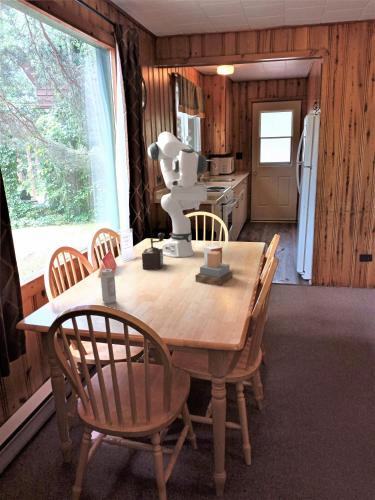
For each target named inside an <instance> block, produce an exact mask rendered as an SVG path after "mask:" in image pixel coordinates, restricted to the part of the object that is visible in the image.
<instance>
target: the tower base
mask: <svg viewBox="0 0 375 500" xmlns="http://www.w3.org/2000/svg"><path fill="white" fill-rule="evenodd" d="M233 275H234V273H233V270H231V271H230V272H229V273H227V274H225V275H224V276H222V277H220V278H215V277H210V276H205V275H200V272H199V273H197V274H195V277H194V278H195V282H197V283H201V284H206V285H212V286H217V287H221V286H223V285H224V284H225V283H227V282H228V281H230V280H231V279H233V277H234V276H233Z"/></svg>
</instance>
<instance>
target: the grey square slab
mask: <svg viewBox="0 0 375 500" xmlns="http://www.w3.org/2000/svg"><path fill="white" fill-rule="evenodd" d="M230 267H231V266H230V264H229V263H228V264H227V263H223V262H222V263H220V266H218V267H217V268H214V267H207V264H205V265H204V264H203V265H201V266H199V273H200V275H205V276H210V277H215V278H220V277H222V276H224V275H225V274H227V273H229V272H230V270H231V269H230Z"/></svg>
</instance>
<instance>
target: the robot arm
mask: <svg viewBox="0 0 375 500" xmlns="http://www.w3.org/2000/svg"><path fill="white" fill-rule="evenodd" d="M158 135H159V136H158V138H157V141H153V142H152V143H150V144H149V145H148V148H147V155H148V157H149V158H150V160H151V161H153V162H157V161H160V162H159V163H160V170H161V174H162V176H163V181H164V183H165V186H166V188H167V189H168V190H170V192H169V193H167V194H164V195H163V196H162V197H161V199H160V206H161V208H162V209H163V210H164V211H165V212H167V213H168V215H169V216H170V218H171V222H172V223H171V224H172V232H170V233H169V236H170V238H168V239H167V240H166V241H164V243H163V244H162V248H161V249H163V256H166V257H170V258H174V259H175V258H176V259H177V258H185V257H191V256H193V255H194V254H195V253H194V249H193V246H192V245H193V244H192V230H191V219H190V218H189V217H188V216H187V215H185V214H184V212H183V211H187V210H192V209H194V210H196V211H198V210H200V205H201V203H202V202H206V201H207V200H208V192H207V184H206V183H205V182H199V181H198V175H200V174H201V175H202V174H203V173H204V172H206V170H207V168H208V159H207V158H206V157H205V155H204V154H201V153H199V152H197V151H196V150H195V149H194V148H193V147H192V146H190V145H188V144H186V143H184V142H183V141H182V139H181V138H180V137H176V136H175V135H174V134H173V133H171V132H169V131H163V132H161V133H160V134H158Z"/></svg>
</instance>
